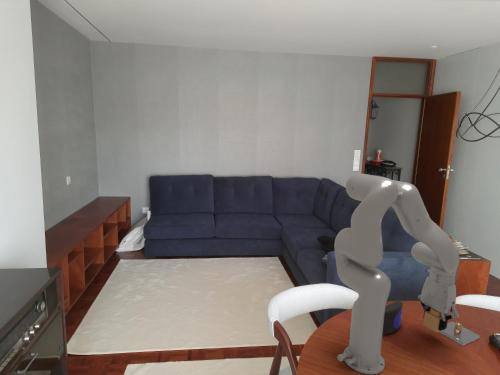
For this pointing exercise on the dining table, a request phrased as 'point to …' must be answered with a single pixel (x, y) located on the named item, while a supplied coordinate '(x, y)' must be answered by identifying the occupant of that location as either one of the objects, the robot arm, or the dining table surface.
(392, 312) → the grey blue curved piece
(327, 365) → the dining table surface
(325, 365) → the dining table surface
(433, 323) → the cube with dome knob
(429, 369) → the dining table surface
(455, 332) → the plate
